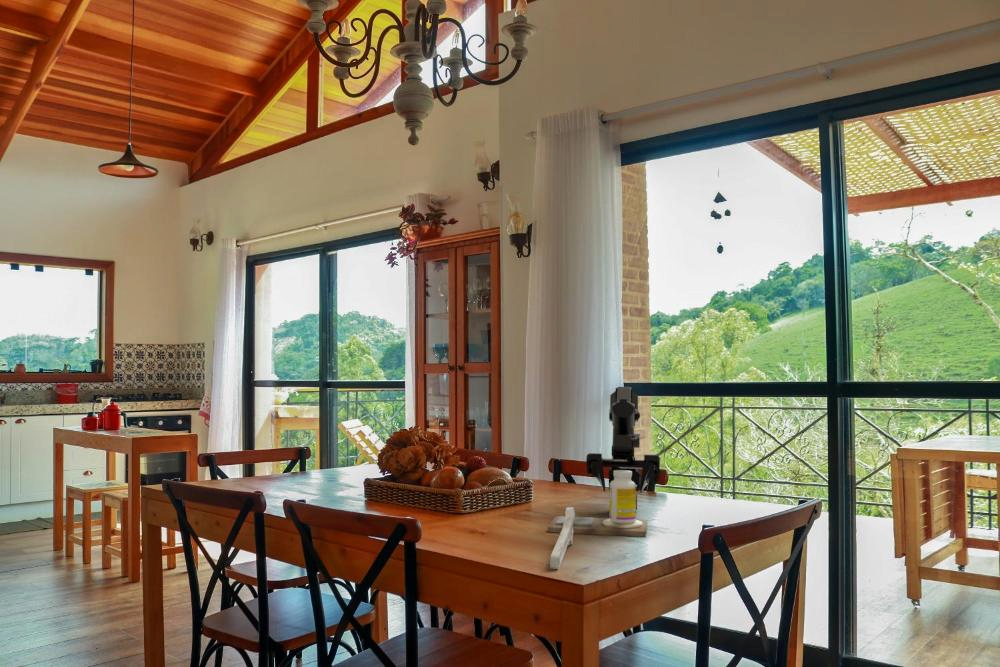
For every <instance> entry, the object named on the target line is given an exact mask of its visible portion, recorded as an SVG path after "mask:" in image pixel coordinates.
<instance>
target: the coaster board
mask: <svg viewBox="0 0 1000 667" xmlns="http://www.w3.org/2000/svg"><path fill="white" fill-rule="evenodd" d="M564 519H565V515H564V516H563V515H560V516H559V515H557V516H555V517H554V518H553V520H552V521H551V522H550V524H549V525H548V527H547V533H557V534H558V533H559V534H560V533H561V531H562V528H563V524H564ZM647 528H648V519H636V521H635V522H634V523H630V524H618V523H613V522H611V521H610V517H608V518H604V517H589V516H587V517H586V516H585V517H583V516H574V518H573V530H574V532H573V534H584V535H585V534H586V535H603V536H604V535H607V536H624V537H625V536H626V537H627V536H628V537H647V531H648V529H647Z"/></svg>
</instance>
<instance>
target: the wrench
mask: <svg viewBox="0 0 1000 667" xmlns="http://www.w3.org/2000/svg"><path fill="white" fill-rule="evenodd" d="M575 510H576V509H575V507H572V506H571V507H569V506H567V507H566V509H565V513H564V514H565V515H564V516H565V519H564V524H563V528H562V531H561V533H559V535H558V538H557V540H556V542H555V545H554V547H553V550H552V552H551V554H550V558H549V569H550V570H555V569H558V567H561V565H562V563H563V559H564V556H565V553H566V551H567V549H568V548H567V547H568V546H573V536H574V533H573V532H574V530H573V518H574V517H576V511H575ZM558 570H559V569H558Z"/></svg>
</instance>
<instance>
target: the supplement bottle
mask: <svg viewBox="0 0 1000 667" xmlns="http://www.w3.org/2000/svg"><path fill="white" fill-rule="evenodd" d="M613 475H614V480H613V481H611V482H610V490H609V510H608V512H609V514H608V515H609V517H608V518H610V521H611V522H613V523H618V524H630V523H634V522H635V521H636V520H637V519H636V518H637V517H636V516H637V513H636V512H637V510H636V494H637V491H636V486H637V485H636V484H635V483H634V482H633V481H631V477H632V471H629V470H614V472H613Z"/></svg>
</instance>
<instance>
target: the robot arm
mask: <svg viewBox="0 0 1000 667" xmlns="http://www.w3.org/2000/svg"><path fill="white" fill-rule="evenodd" d="M609 407H610V408H609V410H608V411H609V412H608V413H609V415H608V416H609V418H608V420H609V422H611V424H612V442H611V443H612V444H611V458H603V453H601V452H600V453H595V452H594V453H593V452H592V453H591V452H590V453H588V454H587V455H586V458H585V459H586V460H585V461H586V473H587V474H588V475H591V476H592V477H595V478H596V479H597V480H598V482H599V484H600V486H601V489H602V491H603V492H606V481H605V472H604V467H605V468H608V491H610V482H611V481H613V480H614V475H613V472H614V470H629V471H632V477H631V481H633V482H634V483H635V484H636V492H639V493H643V492H644V490H645V487H646V485H647V483H648V482H649V481H650V479H654V478H655V477H658V476H660V469H661V468H660V465H661V464H660V463H661V462H660V460H661V456H660V455H658V454H644V455H643V456H644V457H643V460H642V459H641V460H640V459H638V460H637V459H636V457H635V448H636V449H638V448H640V446H641V445H640V444H641V441H640V437H641V436H640V433H635V425H636V423H638V421H639V419H640V418H641V413H640V412H639V394H637V393H635V391H633V387H631V386H617V387H615V391H614V392H612V393H610V396H609ZM639 469H640V470H642V472H641V473H640V471H639ZM637 510H638V494H637V493H636V511H637Z"/></svg>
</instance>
